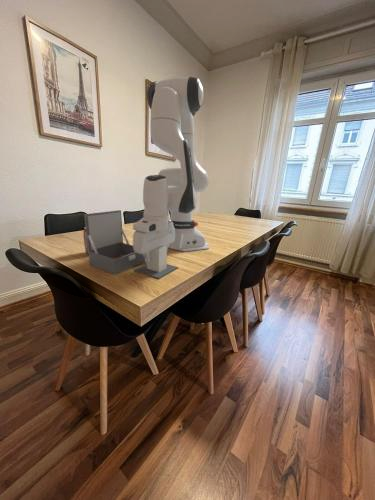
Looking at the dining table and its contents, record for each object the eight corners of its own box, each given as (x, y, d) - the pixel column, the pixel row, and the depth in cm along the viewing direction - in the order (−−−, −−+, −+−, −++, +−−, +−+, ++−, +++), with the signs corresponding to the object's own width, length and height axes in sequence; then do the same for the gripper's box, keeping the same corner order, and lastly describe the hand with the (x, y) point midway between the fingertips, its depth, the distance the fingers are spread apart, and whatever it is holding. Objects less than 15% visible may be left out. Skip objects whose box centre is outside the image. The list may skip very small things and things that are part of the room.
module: (166, 268, 81) (166, 245, 78) (159, 272, 77) (158, 248, 74) (154, 264, 84) (154, 242, 81) (146, 268, 80) (146, 245, 77)
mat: (154, 261, 88) (154, 260, 88) (178, 268, 82) (178, 267, 82) (134, 270, 78) (134, 269, 78) (158, 279, 73) (158, 277, 72)
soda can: (100, 255, 93) (98, 229, 89) (83, 255, 91) (80, 229, 88) (103, 250, 99) (101, 225, 96) (87, 250, 98) (84, 225, 94)
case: (147, 261, 88) (146, 214, 82) (116, 274, 75) (111, 219, 68) (122, 253, 96) (119, 210, 89) (89, 265, 82) (83, 214, 76)
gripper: (166, 218, 85) (166, 250, 89) (129, 225, 68) (130, 264, 72) (179, 220, 82) (178, 253, 86) (143, 228, 65) (144, 269, 69)
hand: (156, 258), depth 79 cm, fingers open, 8 cm apart
